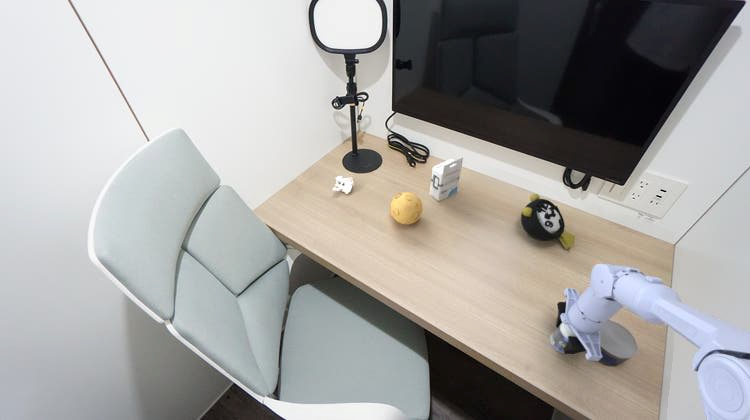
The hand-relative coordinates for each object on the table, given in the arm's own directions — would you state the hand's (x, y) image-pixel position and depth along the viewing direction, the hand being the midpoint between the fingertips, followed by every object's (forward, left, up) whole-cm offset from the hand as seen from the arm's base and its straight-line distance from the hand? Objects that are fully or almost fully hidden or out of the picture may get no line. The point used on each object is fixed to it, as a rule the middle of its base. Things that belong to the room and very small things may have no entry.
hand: (564, 339), depth 69 cm
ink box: (+55, 0, -2) cm, 55 cm away
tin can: (-4, -8, -2) cm, 9 cm away
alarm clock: (+28, -18, -2) cm, 33 cm away
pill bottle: (0, 0, -2) cm, 2 cm away
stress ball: (+48, +17, -2) cm, 51 cm away
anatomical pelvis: (+70, +31, -2) cm, 77 cm away
